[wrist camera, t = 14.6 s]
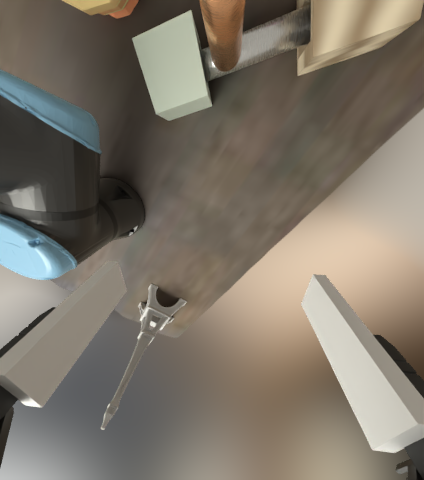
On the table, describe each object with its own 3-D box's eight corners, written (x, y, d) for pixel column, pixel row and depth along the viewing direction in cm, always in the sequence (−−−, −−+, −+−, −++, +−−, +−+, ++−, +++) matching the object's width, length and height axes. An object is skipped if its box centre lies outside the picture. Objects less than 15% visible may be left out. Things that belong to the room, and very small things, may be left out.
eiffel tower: (138, 305, 60) (63, 425, 33) (151, 283, 54) (72, 406, 27) (171, 321, 62) (125, 446, 35) (187, 301, 56) (145, 432, 29)
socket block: (168, 121, 33) (155, 114, 27) (151, 60, 29) (131, 38, 23) (212, 106, 31) (207, 95, 25) (199, 39, 27) (191, 9, 22)
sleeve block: (297, 76, 28) (312, 57, 22) (296, -2, 24) (314, -46, 19) (380, 47, 25) (419, 19, 20) (393, -44, 22) (446, -109, 16)
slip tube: (180, 98, 30) (123, 34, 14) (172, 66, 28) (96, -48, 12) (311, 50, 25) (440, -122, 10) (312, 8, 24) (472, -288, 8)
